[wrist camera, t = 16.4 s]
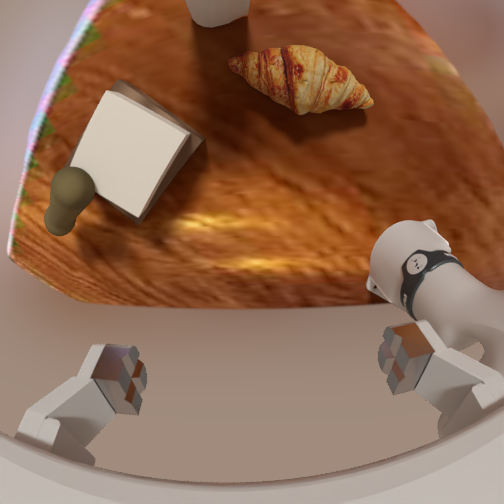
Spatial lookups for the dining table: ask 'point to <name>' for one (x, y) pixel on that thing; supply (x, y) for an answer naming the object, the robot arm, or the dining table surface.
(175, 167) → the tower base block
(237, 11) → the paper towel roll
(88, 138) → the tower top block
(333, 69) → the croissant
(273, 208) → the dining table surface
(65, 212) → the olive green pawn
